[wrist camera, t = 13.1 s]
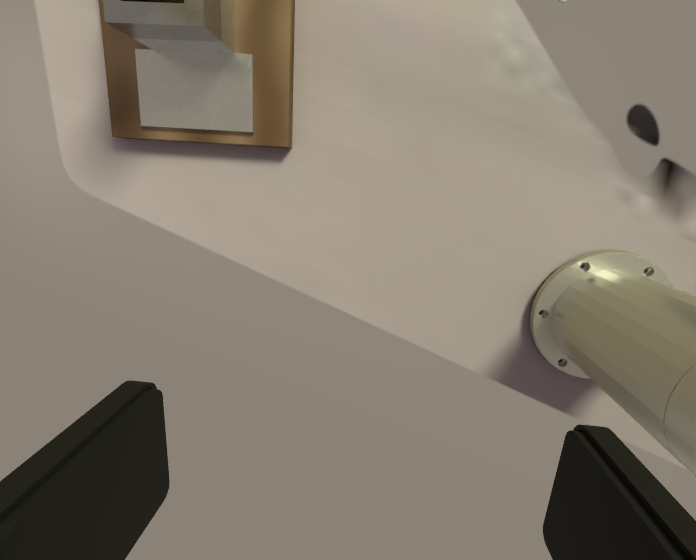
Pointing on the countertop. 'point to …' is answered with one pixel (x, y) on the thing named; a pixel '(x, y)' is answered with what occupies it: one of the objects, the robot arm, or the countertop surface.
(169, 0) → the hinge pin
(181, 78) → the grey stepped block
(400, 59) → the countertop surface
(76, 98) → the countertop surface
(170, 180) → the countertop surface
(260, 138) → the walnut board
